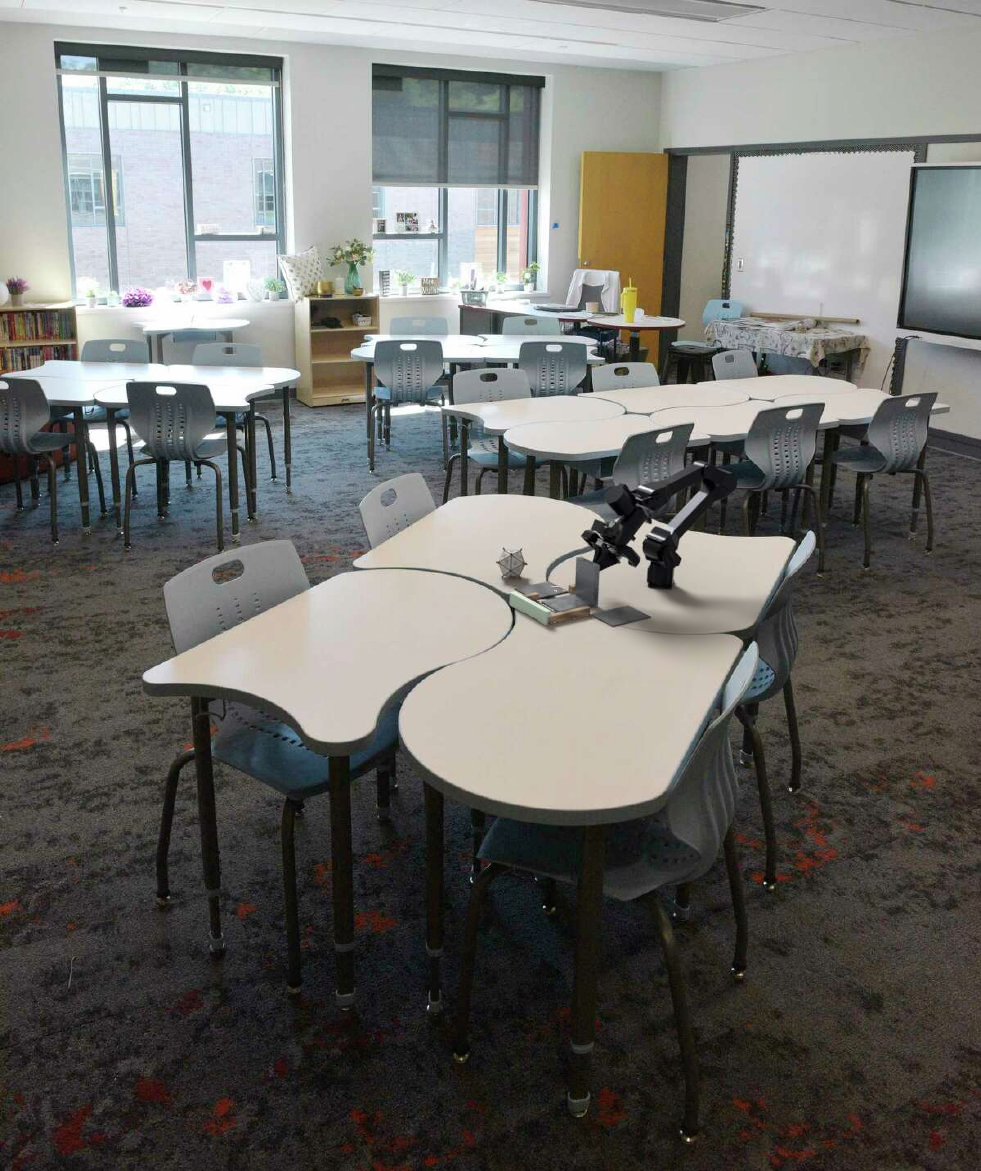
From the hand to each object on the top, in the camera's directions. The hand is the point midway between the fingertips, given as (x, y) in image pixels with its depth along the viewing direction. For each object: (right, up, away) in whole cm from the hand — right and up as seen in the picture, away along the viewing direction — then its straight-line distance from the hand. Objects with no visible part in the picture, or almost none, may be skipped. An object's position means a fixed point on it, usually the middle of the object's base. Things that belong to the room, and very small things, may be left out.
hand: (590, 573), depth 276 cm
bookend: (-5, -8, -1) cm, 10 cm away
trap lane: (-5, -8, -1) cm, 10 cm away
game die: (-20, -1, +19) cm, 28 cm away
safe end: (-16, -10, -7) cm, 20 cm away
